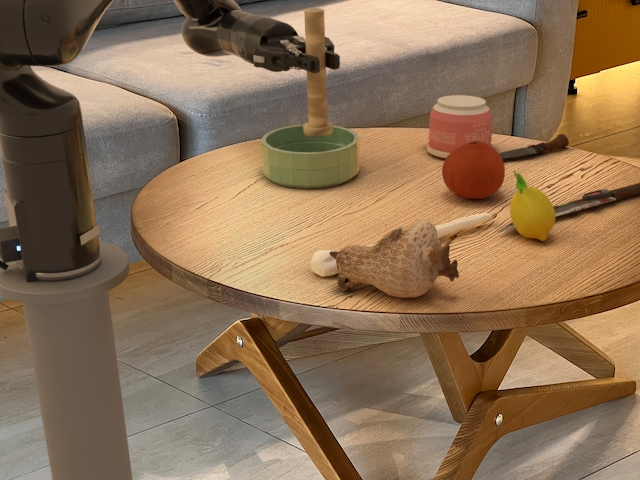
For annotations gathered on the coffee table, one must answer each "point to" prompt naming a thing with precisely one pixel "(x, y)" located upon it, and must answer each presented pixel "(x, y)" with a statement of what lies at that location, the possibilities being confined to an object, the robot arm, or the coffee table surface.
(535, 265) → the coffee table surface
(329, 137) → the bowl
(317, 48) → the stick
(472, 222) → the cream knobbed rod
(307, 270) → the coffee table surface
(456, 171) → the fruit
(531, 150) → the knife
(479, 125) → the container
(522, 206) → the lemon
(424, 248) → the figurine
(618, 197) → the knife
